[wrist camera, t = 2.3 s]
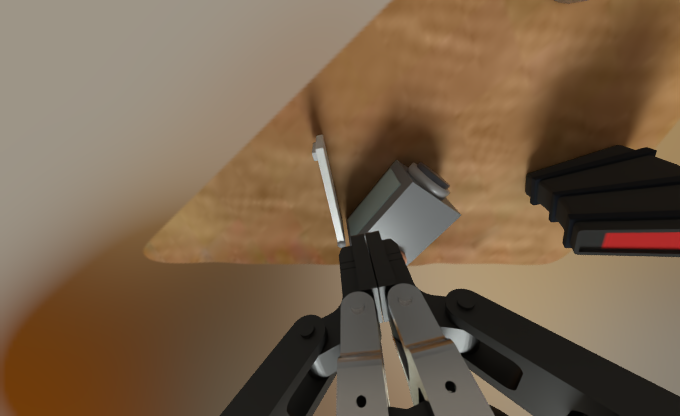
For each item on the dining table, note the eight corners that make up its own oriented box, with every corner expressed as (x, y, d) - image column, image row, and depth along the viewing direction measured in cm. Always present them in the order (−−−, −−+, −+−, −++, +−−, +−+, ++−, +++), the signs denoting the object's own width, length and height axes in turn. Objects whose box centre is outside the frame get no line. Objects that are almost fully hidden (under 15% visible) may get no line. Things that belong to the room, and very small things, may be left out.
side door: (312, 136, 26) (310, 150, 22) (323, 133, 26) (324, 147, 22) (333, 224, 33) (335, 248, 28) (343, 222, 32) (346, 246, 28)
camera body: (404, 148, 28) (425, 172, 22) (447, 179, 30) (476, 208, 24) (345, 219, 32) (350, 255, 27) (386, 242, 35) (399, 279, 29)
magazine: (656, 165, 29) (769, 262, 18) (519, 178, 35) (544, 256, 25) (667, 134, 27) (801, 223, 16) (520, 154, 34) (548, 227, 23)
